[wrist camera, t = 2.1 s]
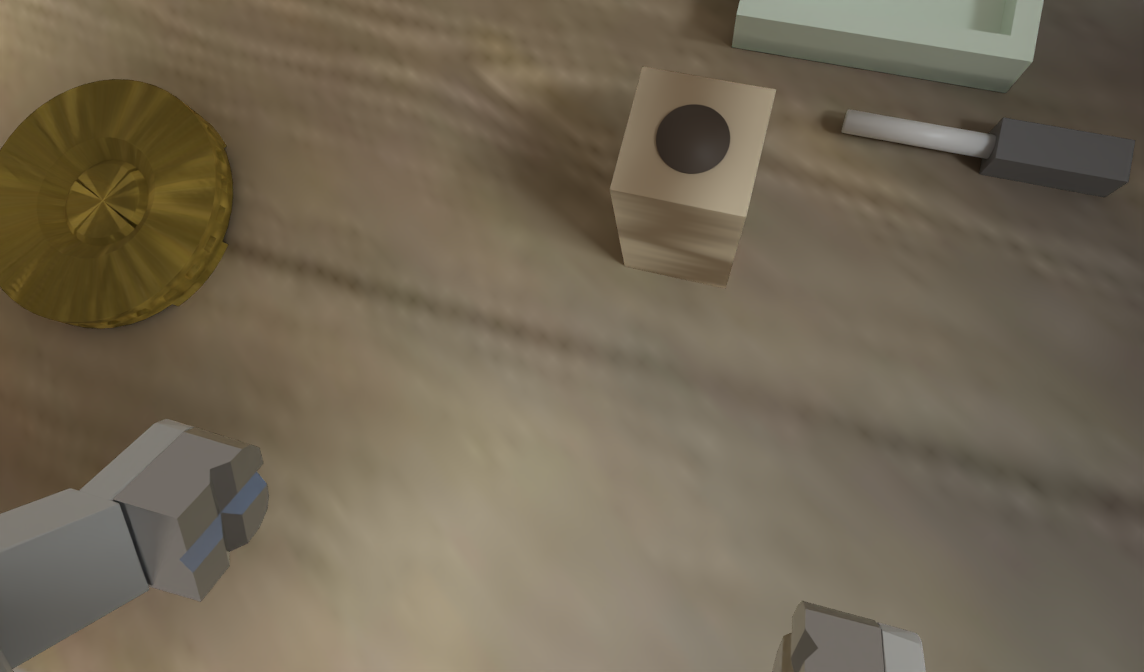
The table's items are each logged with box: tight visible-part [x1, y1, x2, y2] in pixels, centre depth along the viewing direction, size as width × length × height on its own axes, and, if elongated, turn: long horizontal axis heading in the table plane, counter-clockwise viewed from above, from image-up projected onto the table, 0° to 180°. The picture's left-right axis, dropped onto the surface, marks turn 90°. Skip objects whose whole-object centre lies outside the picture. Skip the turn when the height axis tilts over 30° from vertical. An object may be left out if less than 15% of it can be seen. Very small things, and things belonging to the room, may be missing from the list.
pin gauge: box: [842, 109, 1135, 197], centre depth 32 cm, size 11×2×2 cm, turn 75°
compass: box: [0, 79, 233, 329], centre depth 37 cm, size 12×12×2 cm
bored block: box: [610, 66, 776, 288], centre depth 29 cm, size 5×4×9 cm
